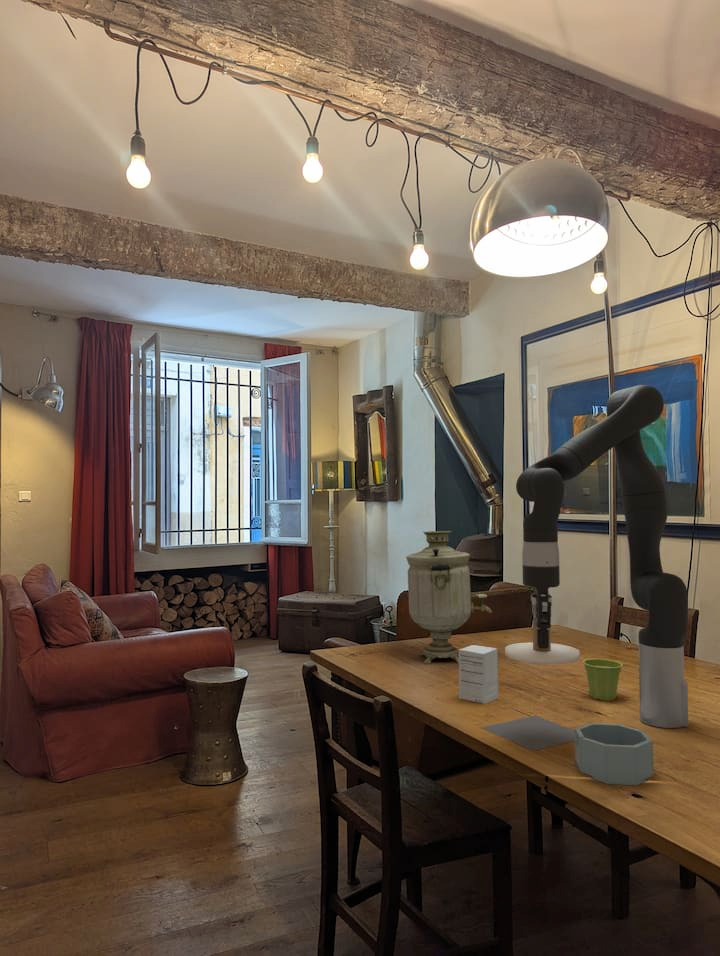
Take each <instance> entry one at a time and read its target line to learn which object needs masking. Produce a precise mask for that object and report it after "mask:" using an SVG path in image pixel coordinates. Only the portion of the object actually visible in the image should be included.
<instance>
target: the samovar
mask: <svg viewBox="0 0 720 956" xmlns="http://www.w3.org/2000/svg"><path fill="white" fill-rule="evenodd" d="M422 533H423V534H424V535H425V536H426V537H425V538H426V542H427V543H428V547H427V546H425V548H423V549H422V550H421V551H417V552H416V553H411V554H408V555H406V556H405V557H406V561H407V564H408V566H409V567H408V569H407V585H408V586H407V589H408V612H409V615H410V616H409V617H410V618H411V620H413V622H414V623H415V624H417V625H419V627H420V628H422V629H423V630H427V631H428V632H429V634H428V638H430V639H431V640H432V641H431V642H430V643H428V644H427V645H426V646H425V647H424V648H423V651H422V652H420V654H419V657H421V656H425V657H426V658H425V660H424V661H423V662H424V664H431V662H432V661H433V660H434V659H435V658H439V659H443V658H445V659H447V658H451V659H453V660H455V661H456V663H458V664H459V656H458V651H457V648H456V647H455V646H454V645H453V644H451V643H450V642H449V641H448V640H449V639H452V631H454V630H458V628H460V627H462V626H463V625H464V624H465V623H466V622H467V621H468V619H469V618H470V617H471V615H472V614H473V613H474V612H475V610H480V612H481V613H483V612H487V614H492V613H493V611H492V610H491V608H490V607H488V606H487V605H486V604H484V600H483V599H486V598H487V597H488V595H487V594H485V593H477V594H474V596H475V597H477V598H479V600H480V604H479V605H474V604H475V603H474V602H472V600H471V599H472V598H471V597H472V596H471V577H470V575H471V573H470V568H469V566H468V563H469V561H470V556H471V554H470V553H468V552H464V551H458V550H455V549H454V548H453V547H451V546H448V545H447V544H448V543H449V535H450V534H451V533H452V531H451V530H437V531H436V530H433V531H431V530H430V531H422Z"/></svg>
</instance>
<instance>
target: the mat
mask: <svg viewBox="0 0 720 956" xmlns="http://www.w3.org/2000/svg"><path fill="white" fill-rule="evenodd" d="M480 729H482V730H485V731H488V732H490V733H492V734H494V735H496V736H498V737H501V738H504V739H505V740H507V741H511V742H512V743H515V744H517V745H518V746H522V747H524V748H526V749H528V750H531V751H533V752H536V751H540V750H544V749H548V748H551V747H556V746H560V745H561V746H562V745H564V744H568V743H572V742H575V729H573V728H570V727H566V726H564V725H561V724H559V723H556V722H553V721H550V720H549V719H546V718H542V717H540V716H537V715H533V716H527V717H523V718H519V719H513V720H509V721H503V722H501V723H495V724H490V725H485V726H481V727H480Z"/></svg>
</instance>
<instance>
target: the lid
mask: <svg viewBox="0 0 720 956" xmlns="http://www.w3.org/2000/svg"><path fill="white" fill-rule="evenodd" d="M541 622H546V620H543V619H541ZM536 626H537V620H534V619H532V642H518V643H513V644H511V643H510V644H508V645H507V646H505V648H504V653H505V656H506V657H507V658H509V659H511V660H514V661H518V662H522V663H528V664H529V663H530V664H538V665H540V664H541V665H562V664H569V663H575V662H577V661H579V660H580V655H581V654H580V653H581V652H580V650H579V649H577V647H576V648H575V647H573V646H569V645H565V644H560V643H552V640H551V639H552V634H551V631H552V630H551V627H550V628H549V647H548V648H539V647H538V645H537V628H536Z"/></svg>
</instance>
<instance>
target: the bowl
mask: <svg viewBox="0 0 720 956" xmlns="http://www.w3.org/2000/svg"><path fill="white" fill-rule="evenodd" d="M574 730H575V741H574V762H575V763H576V765H577V767H578V769H579V772H580V773H582V774H586V777H587V778H589V779H592V780H594V781H598V782H600V783H604V784H605V785H623V786H636V787H637V786H639V785H640V784H643V783H645V782H647V781H649V779H648V778H650V777H654V745H653V744H654V741H653V740H652V739H651V737H650V736H649V735H648V734H647V733H646V731H644V730H641V729H636V728H634V727H630V726H627V725H623V724H620V723H604V722H603V723H601V722H600V723H599V722H597V723H596V722H590V723H587V724H584V725H580V726H578V727H575V728H574Z"/></svg>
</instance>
